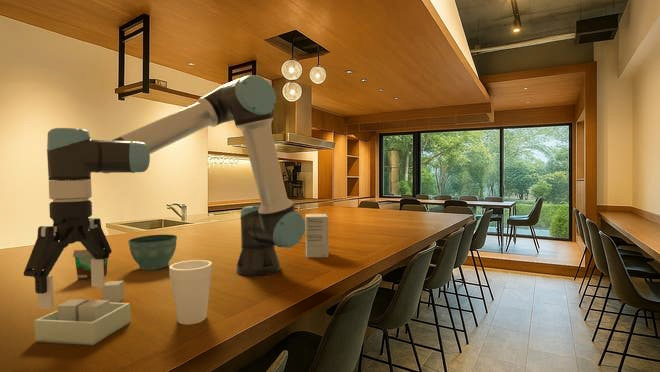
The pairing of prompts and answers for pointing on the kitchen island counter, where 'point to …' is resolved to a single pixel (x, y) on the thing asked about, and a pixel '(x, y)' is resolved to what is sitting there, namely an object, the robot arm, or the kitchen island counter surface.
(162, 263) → the flower pot
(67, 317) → the stone
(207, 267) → the foam cup
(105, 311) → the stone
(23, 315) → the kitchen island counter surface
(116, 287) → the stone
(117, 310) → the bin
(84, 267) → the food container
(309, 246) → the supplement box
